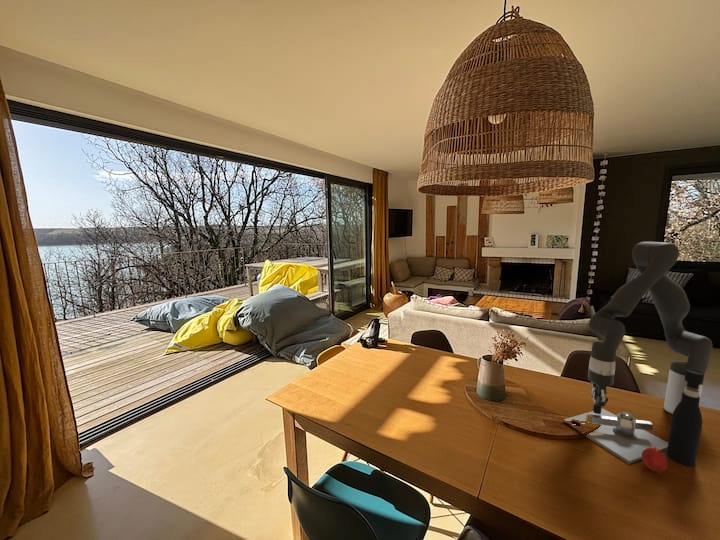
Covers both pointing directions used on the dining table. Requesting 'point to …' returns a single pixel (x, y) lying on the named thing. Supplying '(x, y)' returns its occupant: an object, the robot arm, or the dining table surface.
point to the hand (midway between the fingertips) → (596, 412)
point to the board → (622, 439)
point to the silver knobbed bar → (621, 423)
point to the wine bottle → (686, 422)
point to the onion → (654, 459)
